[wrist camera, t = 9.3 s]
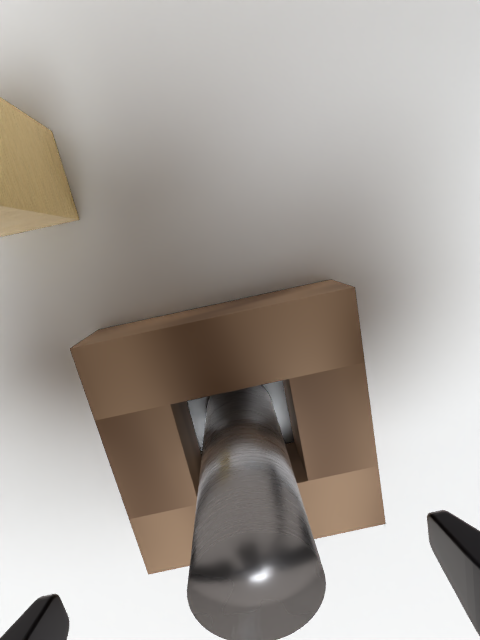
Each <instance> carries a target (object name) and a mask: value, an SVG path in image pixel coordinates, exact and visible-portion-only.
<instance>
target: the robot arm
mask: <svg viewBox="0 0 480 640" xmlns="http://www.w3.org/2000/svg"><path fill="white" fill-rule="evenodd" d="M427 522H428V533H429V542H430V545H431V548H432V550H433V552H434V554H435V556H436V558H437V560H438V562H439V563H440V565H441V567H442V569H443V571H444V573H445V574H446V576H447V578H448V580H449V582H450V584H451V585H452V587H453V589H454V591H455V593H456V595H457V596H458V598H459V600H460V602H461V604H462V606H463V608H464V609H465V611H466V613H467V615H468V617H469V619H470V620H471V622H472V624H473V626H474V627H475V629H476V631H477V632H478V634H479V636H480V531H479V530H477V529H476V528H474V527H472V526H471V525H469V524H467V523H466V522H464V521H463V520H461V519H459V518H458V517H456V516H454V515H453V514H451V513H449V512H448V511H445V510H440V511H436V512H431V513H429V514H428V516H427ZM68 632H69V617H68V615H67V613H66V610H65V608H64V606H63V603H62V601H61V599H60V597H59V596H58V595H57V594H51V595H47V596H42V597H40V598H38V599H37V600H36V601H35V602H34V603H33V604H32V605H31V606H30V607H29V608H28V609H27V610H26V611H25V612H24V613H23V614H22V615H21V617H20V618H19V619H18V620H17V621H16V622H15V623H14V624H13V625H12V626H11V627H10V628H9V629H8V630H7V632H6V633H5V634H4V635H3V636H2V637H1V638H0V640H67V636H68Z"/></svg>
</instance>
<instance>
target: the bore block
mask: <svg viewBox="0 0 480 640" xmlns="http://www.w3.org/2000/svg"><path fill="white" fill-rule="evenodd" d="M70 351H71V354H72V357H73V359H74V362H75V365H76V368H77V371H78V374H79V377H80V380H81V382H82V385H83V388H84V391H85V394H86V397H87V400H88V403H89V405H90V408H91V411H92V414H93V417H94V420H95V423H96V425H97V428H98V431H99V434H100V437H101V440H102V443H103V446H104V448H105V451H106V454H107V457H108V460H109V463H110V466H111V468H112V471H113V474H114V477H115V480H116V483H117V486H118V489H119V491H120V494H121V497H122V500H123V503H124V506H125V509H126V512H127V514H128V517H129V520H130V523H131V526H132V529H133V532H134V534H135V537H136V540H137V543H138V546H139V549H140V552H141V555H142V557H143V560H144V563H145V566H146V569H147V572H148V574H153V573H157V572H162V571H167V570H171V569H176V568H181V567H185V566H190V559H191V550H192V541H193V532H194V523H195V513H196V504H197V495H198V486H199V477H200V468H201V459H202V456H201V452H200V448H199V445H198V441H197V437H196V434H195V430H194V426H193V423H192V419H191V415H190V411H189V408H188V404H187V401H188V400H193V399H198V398H202V397H207V396H212V395H216V394H221V393H225V392H230V391H235V390H239V389H244V388H249V387H253V386H258V385H263V384H267V383H272V382H277V381H281V380H283V385H284V391H285V396H286V401H287V406H288V411H289V416H290V422H291V427H292V432H293V437H294V442H292V443H287V444H285V446H286V449H287V452H288V456H289V459H290V462H291V466H292V469H293V472H294V475H295V479H296V482H297V485H298V489H299V492H300V495H301V498H302V502H303V505H304V508H305V512H306V515H307V518H308V521H309V525H310V528H311V531H312V535H313V538H314V539H317V538H321V537H326V536H331V535H335V534H340V533H345V532H349V531H354V530H359V529H363V528H368V527H373V526H377V525H382V524H385V516H384V508H383V500H382V493H381V485H380V477H379V469H378V462H377V454H376V446H375V438H374V431H373V423H372V415H371V407H370V400H369V392H368V384H367V376H366V369H365V361H364V353H363V346H362V338H361V330H360V322H359V315H358V307H357V299H356V291H355V287H353V286H350V285H347V284H344V283H340V282H337V281H334V280H326V281H321V282H317V283H312V284H307V285H303V286H298V287H294V288H289V289H284V290H280V291H275V292H270V293H266V294H261V295H257V296H252V297H247V298H243V299H238V300H233V301H229V302H224V303H220V304H215V305H210V306H206V307H201V308H196V309H192V310H187V311H182V312H178V313H173V314H169V315H164V316H159V317H155V318H150V319H145V320H141V321H136V322H132V323H127V324H122V325H118V326H113V327H108V328H104V329H99V330H97V331H96V332H94V333H93V334H91V335H90V336H88V337H87V338H85V339H84V340H82V341H81V342H79V343H78V344H76V345H74V346H73V347H71V348H70Z"/></svg>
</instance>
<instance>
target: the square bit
mask: <svg viewBox="0 0 480 640" xmlns="http://www.w3.org/2000/svg"><path fill="white" fill-rule="evenodd" d="M77 220H79V216H78V213H77V210H76V207H75V204H74V200H73V197H72V194H71V191H70V188H69V184H68V181H67V178H66V175H65V172H64V168H63V165H62V162H61V159H60V156H59V152H58V149H57V146H56V143H55V139H54V136H53V133H52V131H51V130H49V129H48V128H46V127H45V126H43V125H42V124H40V123H39V122H37V121H36V120H34V119H33V118H31V117H30V116H28V115H27V114H25V113H23V112H22V111H20V110H19V109H17V108H16V107H14V106H13V105H11V104H10V103H8V102H7V101H5V100H4V99H2V98H1V97H0V237H3V236H8V235H13V234H17V233H22V232H26V231H31V230H36V229H40V228H45V227H49V226H54V225H59V224H63V223H68V222H72V221H77Z"/></svg>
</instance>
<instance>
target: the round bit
mask: <svg viewBox="0 0 480 640" xmlns="http://www.w3.org/2000/svg"><path fill="white" fill-rule="evenodd" d="M325 588H326V581H325V574H324V571H323V567H322V564H321V561H320V557H319V554H318V551H317V548H316V544H315V541H314V538H313V535H312V531H311V528H310V525H309V521H308V518H307V515H306V512H305V508H304V505H303V502H302V498H301V495H300V492H299V489H298V485H297V482H296V479H295V475H294V472H293V469H292V466H291V462H290V459H289V456H288V452H287V449H286V446H285V443H284V439H283V436H282V433H281V430H280V426H279V423H278V420H277V416H276V413H275V410H274V407H273V403H272V400H271V397H270V395H269V393H268V392H267V391H266V389H265V388H264V387H263V386H261V385H258V386H253V387H249V388H244V389H239V390H235V391H230V392H225V393H221V394H216V395H212V396H210V398H209V400H208V404H207V413H206V422H205V431H204V440H203V449H202V459H201V468H200V477H199V486H198V495H197V504H196V513H195V523H194V532H193V541H192V550H191V559H190V568H189V577H188V587H187V598H188V603H189V606H190V609H191V611H192V613H193V615H194V616H195V618H196V619H197V620H198V622H199V623H200V624H201V625H202V626H203V627H205V628H206V629H207V630H208V631H210V632H211V633H213V634H215V635H217V636H219V637H221V638H224V639H227V640H277V639H280V638H283V637H285V636H288V635H290V634H292V633H294V632H295V631H297V630H298V629H300V628H301V627H303V626H304V625H305V624H306V623H307V622H308V621H309V620H310V619H311V618H312V617H313V616H314V615H315V613H316V612H317V611H318V609H319V607H320V605H321V603H322V601H323V598H324V594H325Z"/></svg>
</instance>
